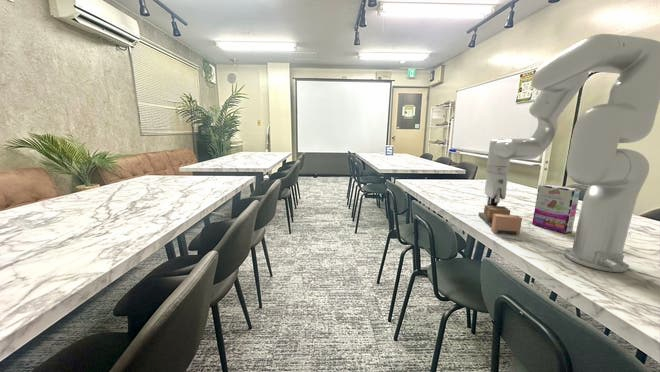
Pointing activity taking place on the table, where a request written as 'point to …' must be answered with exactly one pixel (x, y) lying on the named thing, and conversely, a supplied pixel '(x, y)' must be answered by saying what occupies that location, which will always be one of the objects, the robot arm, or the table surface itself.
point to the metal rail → (491, 224)
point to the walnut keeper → (494, 211)
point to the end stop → (506, 224)
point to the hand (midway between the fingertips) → (490, 213)
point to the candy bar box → (556, 207)
